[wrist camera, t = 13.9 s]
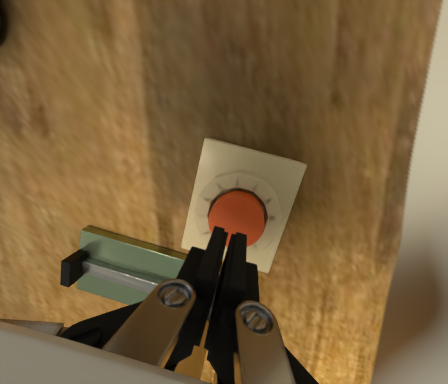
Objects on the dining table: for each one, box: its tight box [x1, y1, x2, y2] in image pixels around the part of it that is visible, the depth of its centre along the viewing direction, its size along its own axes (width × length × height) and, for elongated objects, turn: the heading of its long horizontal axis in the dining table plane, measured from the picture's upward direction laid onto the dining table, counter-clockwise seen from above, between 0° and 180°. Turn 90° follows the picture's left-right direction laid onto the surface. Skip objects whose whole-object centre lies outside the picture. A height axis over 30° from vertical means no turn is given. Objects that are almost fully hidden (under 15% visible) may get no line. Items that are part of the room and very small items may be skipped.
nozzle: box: [176, 291, 216, 380], centre depth 18 cm, size 9×5×12 cm, turn 166°
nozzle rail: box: [60, 226, 222, 305], centre depth 23 cm, size 8×20×4 cm, turn 76°
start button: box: [208, 191, 265, 247], centre depth 17 cm, size 4×4×2 cm
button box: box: [181, 138, 307, 273], centre depth 20 cm, size 11×9×4 cm
